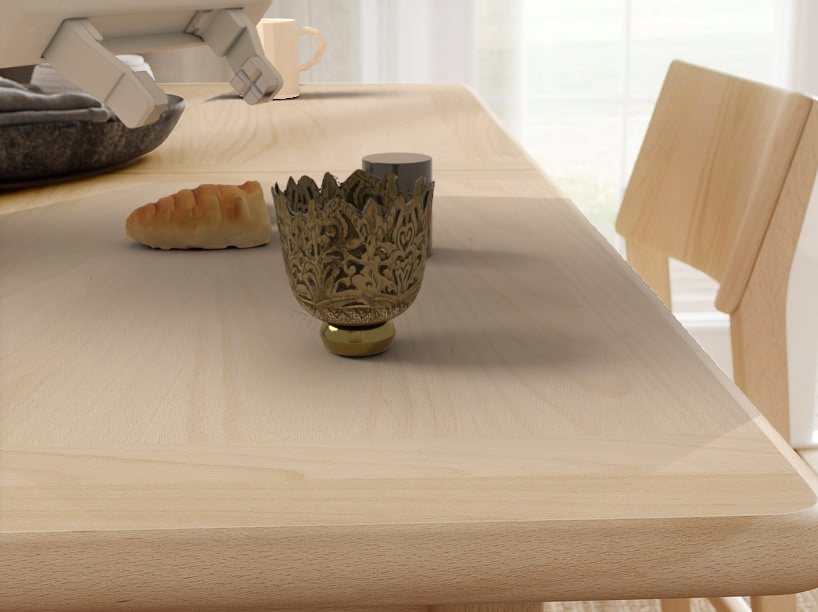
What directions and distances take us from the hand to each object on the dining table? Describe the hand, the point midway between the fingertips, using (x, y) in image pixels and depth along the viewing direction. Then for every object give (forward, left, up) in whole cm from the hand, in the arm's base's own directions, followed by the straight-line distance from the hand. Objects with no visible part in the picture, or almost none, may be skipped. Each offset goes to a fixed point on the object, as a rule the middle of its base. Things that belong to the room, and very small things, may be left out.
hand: (214, 105), depth 55 cm
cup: (+7, -2, -11) cm, 13 cm away
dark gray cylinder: (+6, +18, -11) cm, 22 cm away
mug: (-23, +107, -11) cm, 110 cm away
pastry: (-7, +20, -11) cm, 24 cm away
